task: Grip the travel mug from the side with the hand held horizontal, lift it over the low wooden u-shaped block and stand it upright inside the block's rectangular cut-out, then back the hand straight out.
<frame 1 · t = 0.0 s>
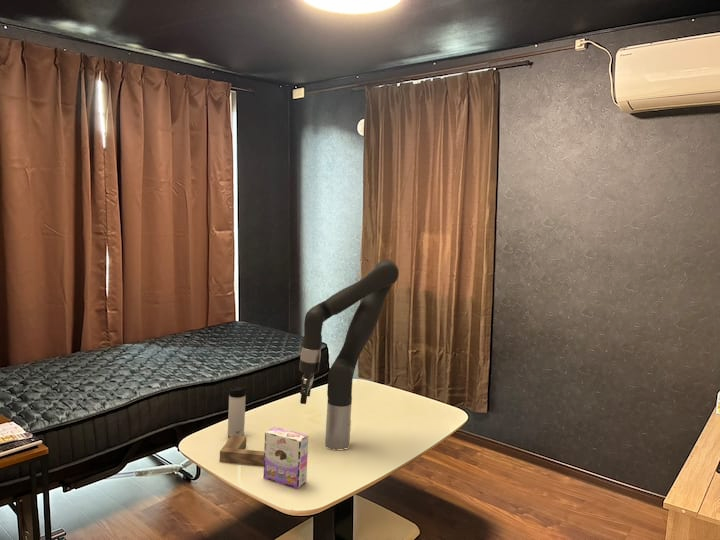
hand: (305, 399, 209), 17 cm above the table, tool pointing down, fingers open, 8 cm apart
travel mug: (236, 436, 213), on the table
candy box: (284, 480, 181), on the table
wooden u-shaped block: (255, 456, 197), on the table
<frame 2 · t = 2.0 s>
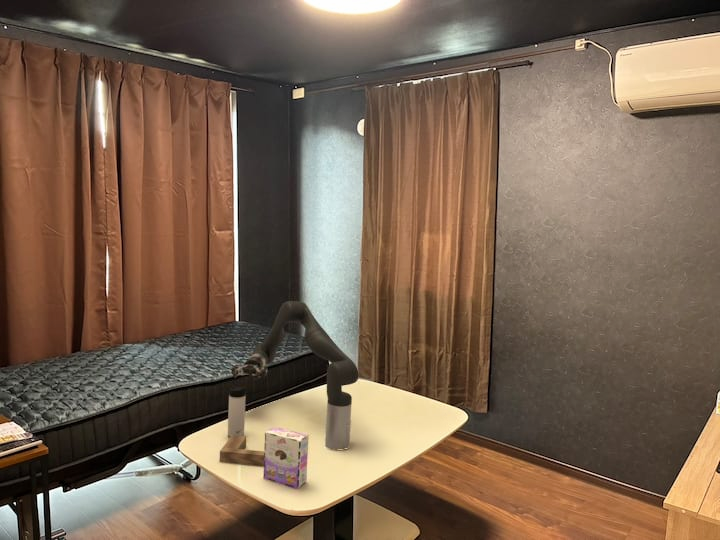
hand: (244, 376, 221), 21 cm above the table, tool horizontal, fingers open, 8 cm apart
nothing on the table moved.
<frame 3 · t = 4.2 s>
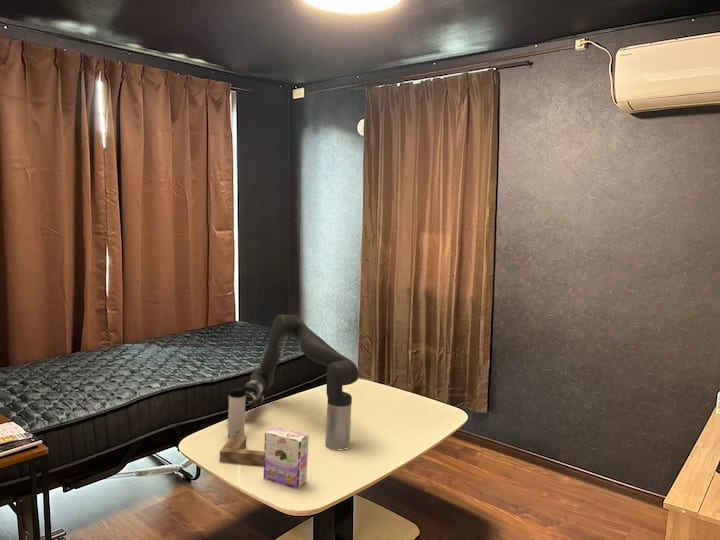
hand: (240, 404, 216), 11 cm above the table, tool horizontal, fingers open, 8 cm apart
nothing on the table moved.
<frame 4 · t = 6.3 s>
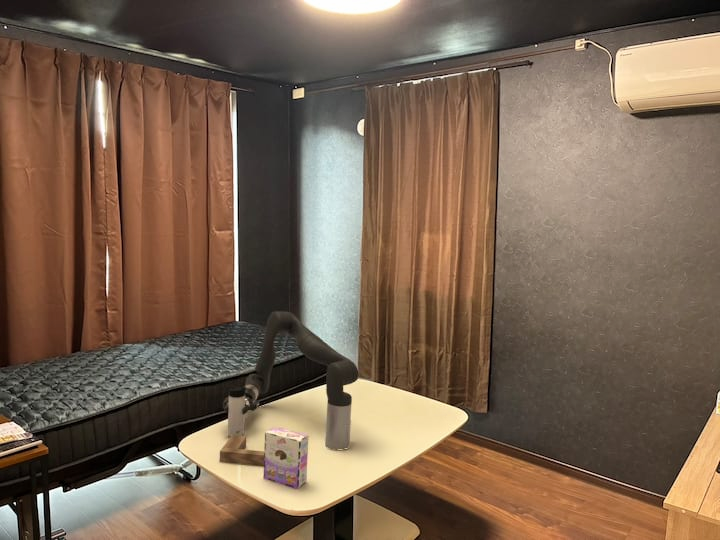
hand: (235, 411, 209), 11 cm above the table, tool horizontal, fingers closed on travel mug, 6 cm apart
travel mug: (236, 436, 213), on the table, touching gripper
everything else where it was.
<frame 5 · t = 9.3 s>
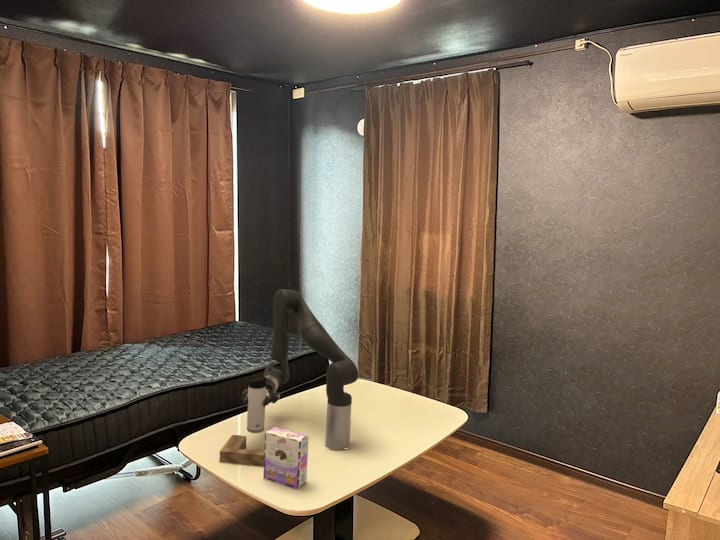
hand: (255, 403, 195), 20 cm above the table, tool horizontal, fingers closed on travel mug, 6 cm apart
travel mug: (256, 430, 199), point 9 cm above the table, touching gripper
everything else where it was.
when the fingers open (12 cm above the table, at t = 12.3 s): travel mug drops 1 cm, on the table.
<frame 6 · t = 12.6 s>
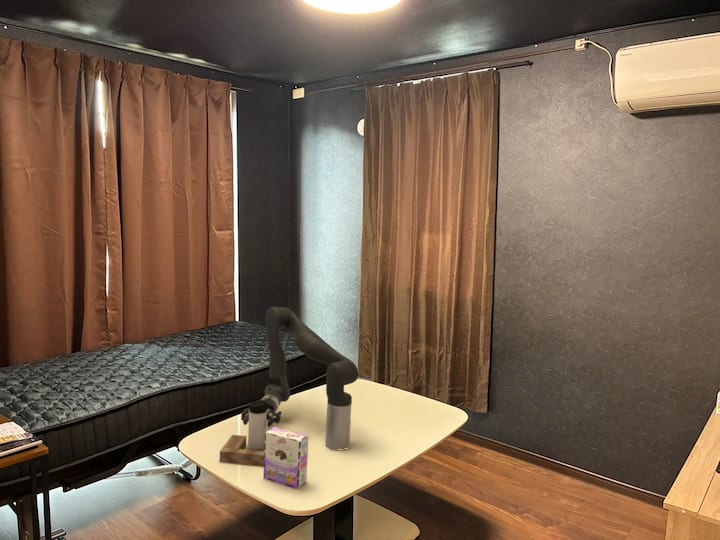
hand: (256, 423, 195), 12 cm above the table, tool horizontal, fingers open, 8 cm apart
travel mug: (256, 454, 199), on the table
everything else where it was.
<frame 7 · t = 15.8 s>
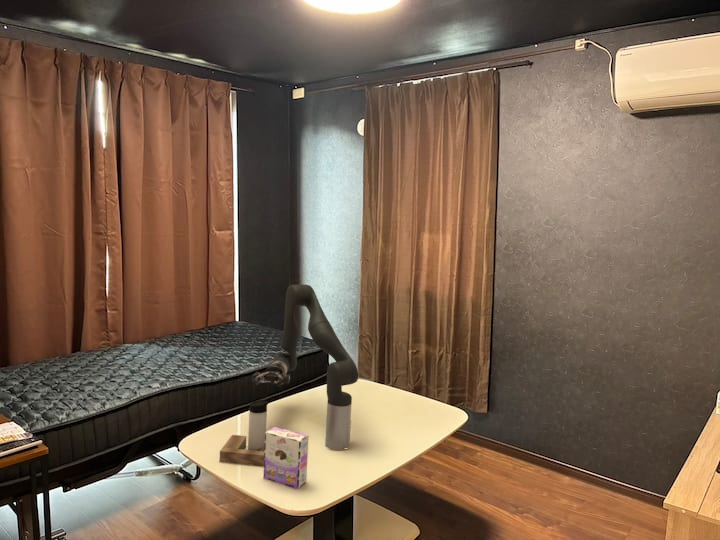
hand: (266, 383, 207), 23 cm above the table, tool horizontal, fingers open, 8 cm apart
nothing on the table moved.
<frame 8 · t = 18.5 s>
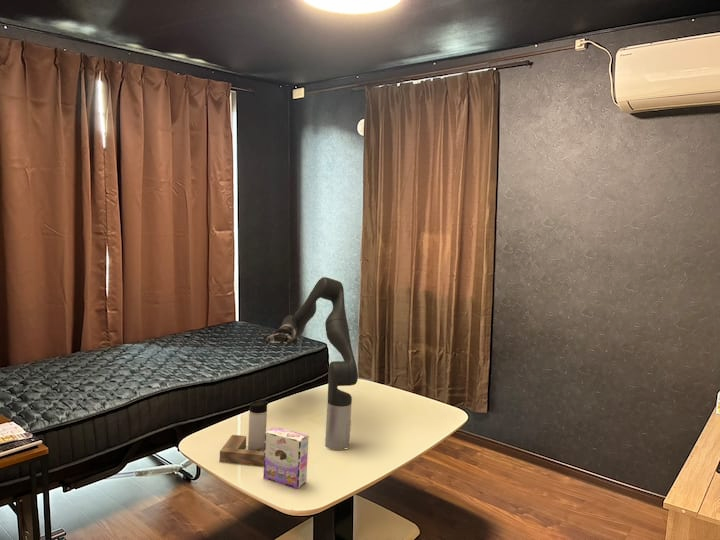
hand: (277, 343, 221), 35 cm above the table, tool horizontal, fingers open, 8 cm apart
nothing on the table moved.
at the end: travel mug 0.2 cm from the target spot on the wooden u-shaped block, point 0.0 cm above the wooden u-shaped block's base; travel mug tilted 0°; the gripper is holding nothing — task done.
